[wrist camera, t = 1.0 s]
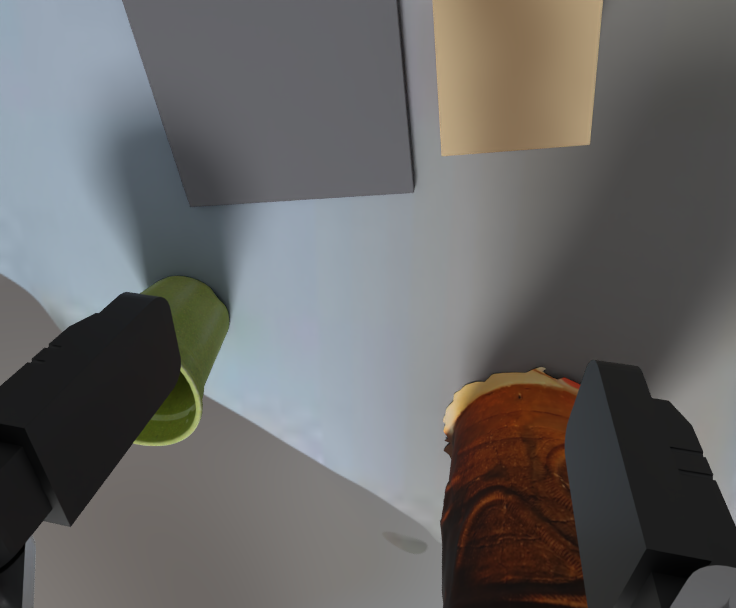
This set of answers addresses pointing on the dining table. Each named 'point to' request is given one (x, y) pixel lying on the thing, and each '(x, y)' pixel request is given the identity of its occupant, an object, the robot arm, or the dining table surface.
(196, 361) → the plant pot
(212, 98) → the mat
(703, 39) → the dining table surface
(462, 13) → the notched wooden block
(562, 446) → the vessel
